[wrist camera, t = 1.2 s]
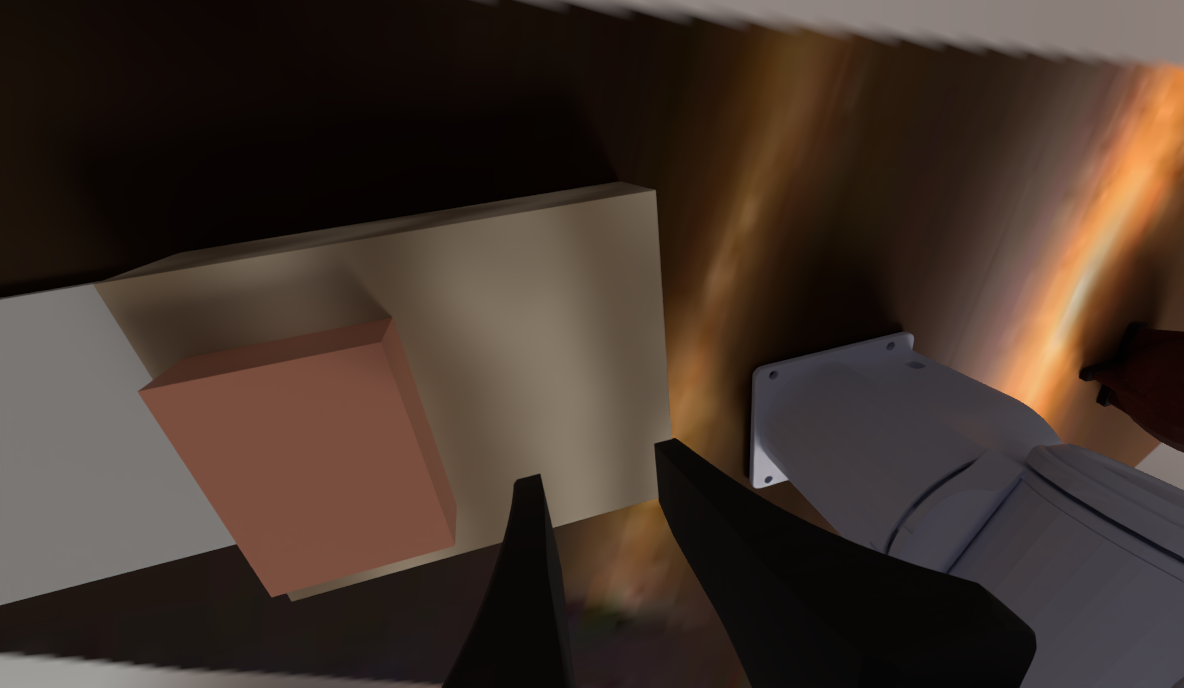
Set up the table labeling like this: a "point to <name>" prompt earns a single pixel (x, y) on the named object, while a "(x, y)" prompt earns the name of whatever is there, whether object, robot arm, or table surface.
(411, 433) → the tile
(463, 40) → the table surface
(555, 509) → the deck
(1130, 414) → the mate gourd
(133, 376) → the mat
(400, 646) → the table surface
